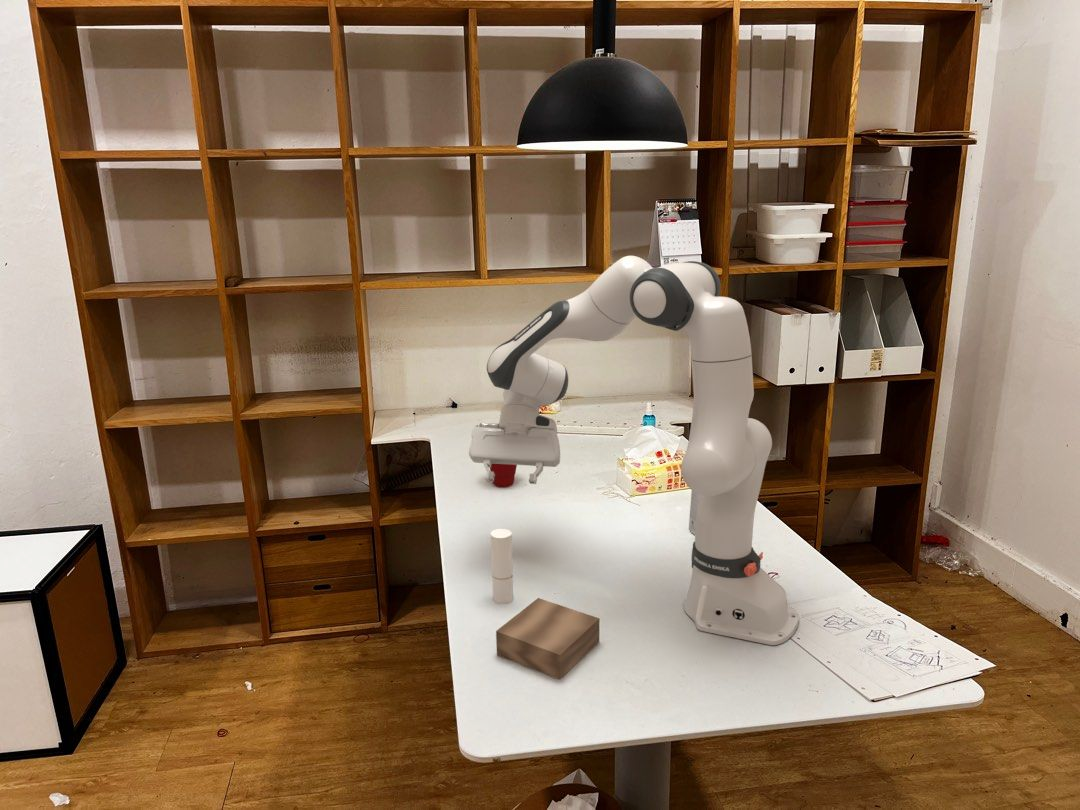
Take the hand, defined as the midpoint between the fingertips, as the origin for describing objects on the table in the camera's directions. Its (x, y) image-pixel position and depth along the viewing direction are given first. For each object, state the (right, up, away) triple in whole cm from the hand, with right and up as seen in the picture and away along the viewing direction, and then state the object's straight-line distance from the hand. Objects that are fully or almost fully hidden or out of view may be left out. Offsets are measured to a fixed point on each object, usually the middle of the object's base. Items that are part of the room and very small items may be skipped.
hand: (511, 481), depth 175 cm
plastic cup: (-4, -6, +55) cm, 55 cm away
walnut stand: (+8, -29, -23) cm, 38 cm away
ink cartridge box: (+47, -16, +21) cm, 54 cm away
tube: (-2, -24, -6) cm, 25 cm away
